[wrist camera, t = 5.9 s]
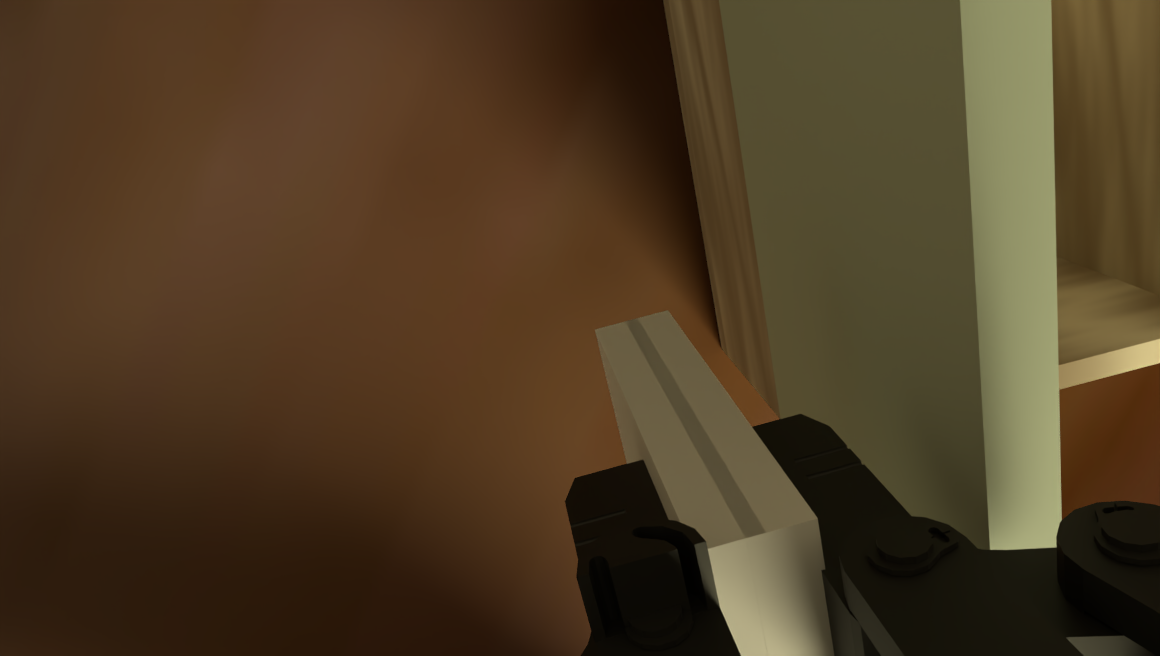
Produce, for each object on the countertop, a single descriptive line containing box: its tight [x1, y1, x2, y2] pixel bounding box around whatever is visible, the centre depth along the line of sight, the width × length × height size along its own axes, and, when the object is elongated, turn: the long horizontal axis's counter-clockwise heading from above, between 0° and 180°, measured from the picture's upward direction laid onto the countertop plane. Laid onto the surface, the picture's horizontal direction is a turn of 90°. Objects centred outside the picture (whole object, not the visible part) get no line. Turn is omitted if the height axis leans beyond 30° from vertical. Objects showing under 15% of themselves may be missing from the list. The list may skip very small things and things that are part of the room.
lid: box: [719, 0, 1062, 550], centre depth 17 cm, size 14×14×1 cm
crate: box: [663, 0, 1160, 418], centre depth 28 cm, size 14×14×9 cm
